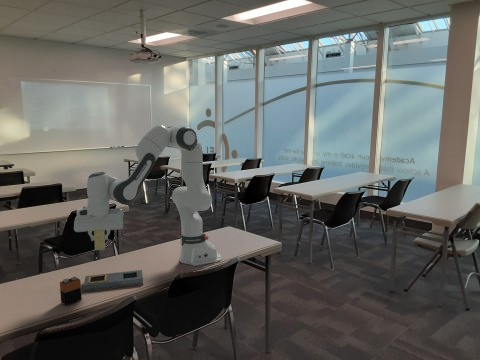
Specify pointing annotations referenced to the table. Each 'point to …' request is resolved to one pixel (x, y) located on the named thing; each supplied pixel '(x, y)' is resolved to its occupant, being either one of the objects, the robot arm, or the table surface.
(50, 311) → the table surface
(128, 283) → the grey socket board
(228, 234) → the table surface
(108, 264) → the table surface
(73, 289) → the battery
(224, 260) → the table surface
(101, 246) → the brass block
